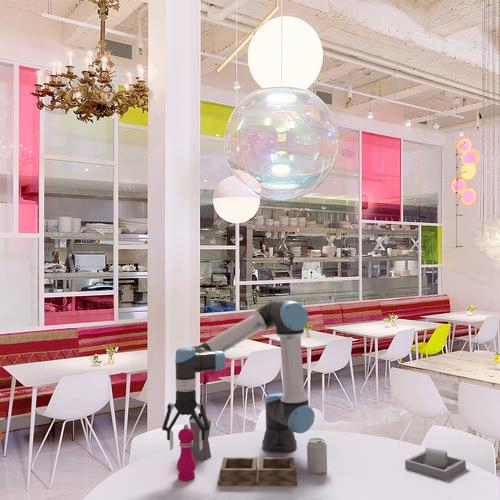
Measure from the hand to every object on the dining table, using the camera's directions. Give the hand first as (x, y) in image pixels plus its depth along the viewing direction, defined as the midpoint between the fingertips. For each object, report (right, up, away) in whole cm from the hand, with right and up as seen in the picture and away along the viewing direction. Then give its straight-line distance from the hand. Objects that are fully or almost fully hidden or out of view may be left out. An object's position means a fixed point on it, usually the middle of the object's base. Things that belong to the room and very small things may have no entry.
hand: (186, 448), depth 197 cm
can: (+50, -11, +5) cm, 51 cm away
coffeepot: (+3, -12, +23) cm, 26 cm away
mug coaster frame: (+96, -10, +6) cm, 97 cm away
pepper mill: (0, -11, 0) cm, 11 cm away
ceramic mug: (+96, -10, +7) cm, 97 cm away
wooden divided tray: (+27, -10, -2) cm, 29 cm away
